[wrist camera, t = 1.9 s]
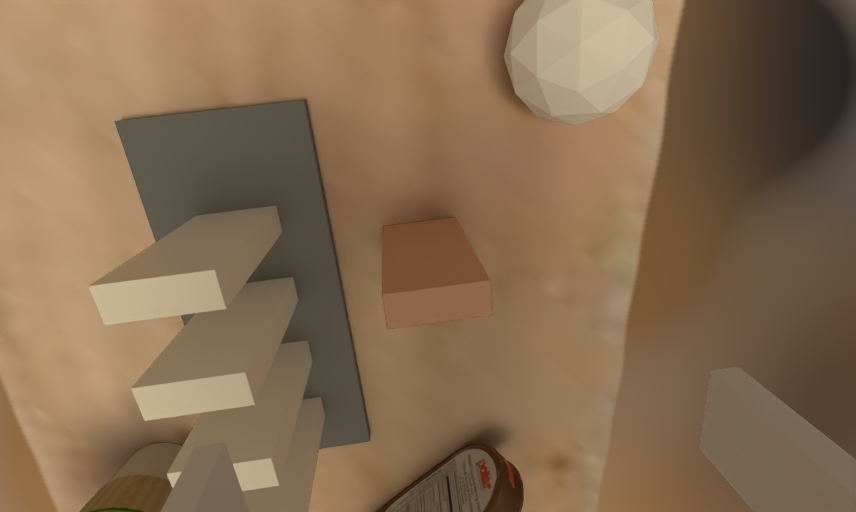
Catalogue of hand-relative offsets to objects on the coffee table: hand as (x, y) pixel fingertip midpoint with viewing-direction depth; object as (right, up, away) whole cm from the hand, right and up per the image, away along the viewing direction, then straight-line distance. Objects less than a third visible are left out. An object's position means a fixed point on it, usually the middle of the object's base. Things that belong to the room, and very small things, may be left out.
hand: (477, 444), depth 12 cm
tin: (-1, -14, +27) cm, 30 cm away
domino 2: (-13, +3, +18) cm, 22 cm away
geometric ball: (+6, +18, +16) cm, 24 cm away
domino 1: (-13, +7, +16) cm, 22 cm away
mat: (-13, +2, +19) cm, 23 cm away
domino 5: (-2, +7, +19) cm, 20 cm away
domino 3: (-12, -2, +20) cm, 24 cm away
